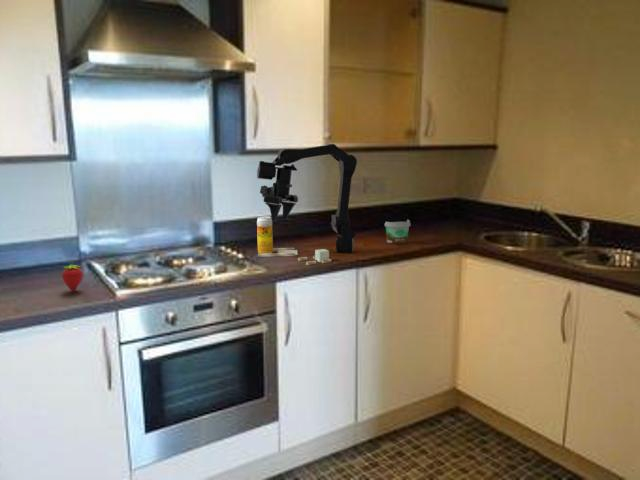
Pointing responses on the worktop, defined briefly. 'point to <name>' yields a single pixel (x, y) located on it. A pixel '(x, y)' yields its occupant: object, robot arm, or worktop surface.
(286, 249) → the lane
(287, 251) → the mat
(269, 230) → the yellow tall cylinder
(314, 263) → the broken lane
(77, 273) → the strawberry
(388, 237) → the food container
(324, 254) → the sage cube
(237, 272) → the worktop surface
